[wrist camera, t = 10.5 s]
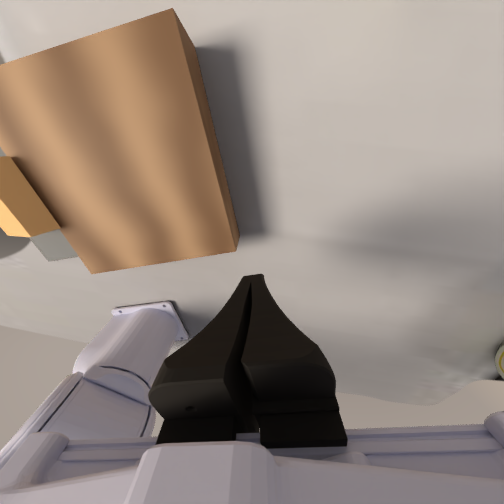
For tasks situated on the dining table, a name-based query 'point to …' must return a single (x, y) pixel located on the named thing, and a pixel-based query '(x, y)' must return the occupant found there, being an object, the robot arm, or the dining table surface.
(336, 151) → the dining table surface
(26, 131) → the panel
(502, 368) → the air freshener
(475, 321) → the dining table surface
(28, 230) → the block
